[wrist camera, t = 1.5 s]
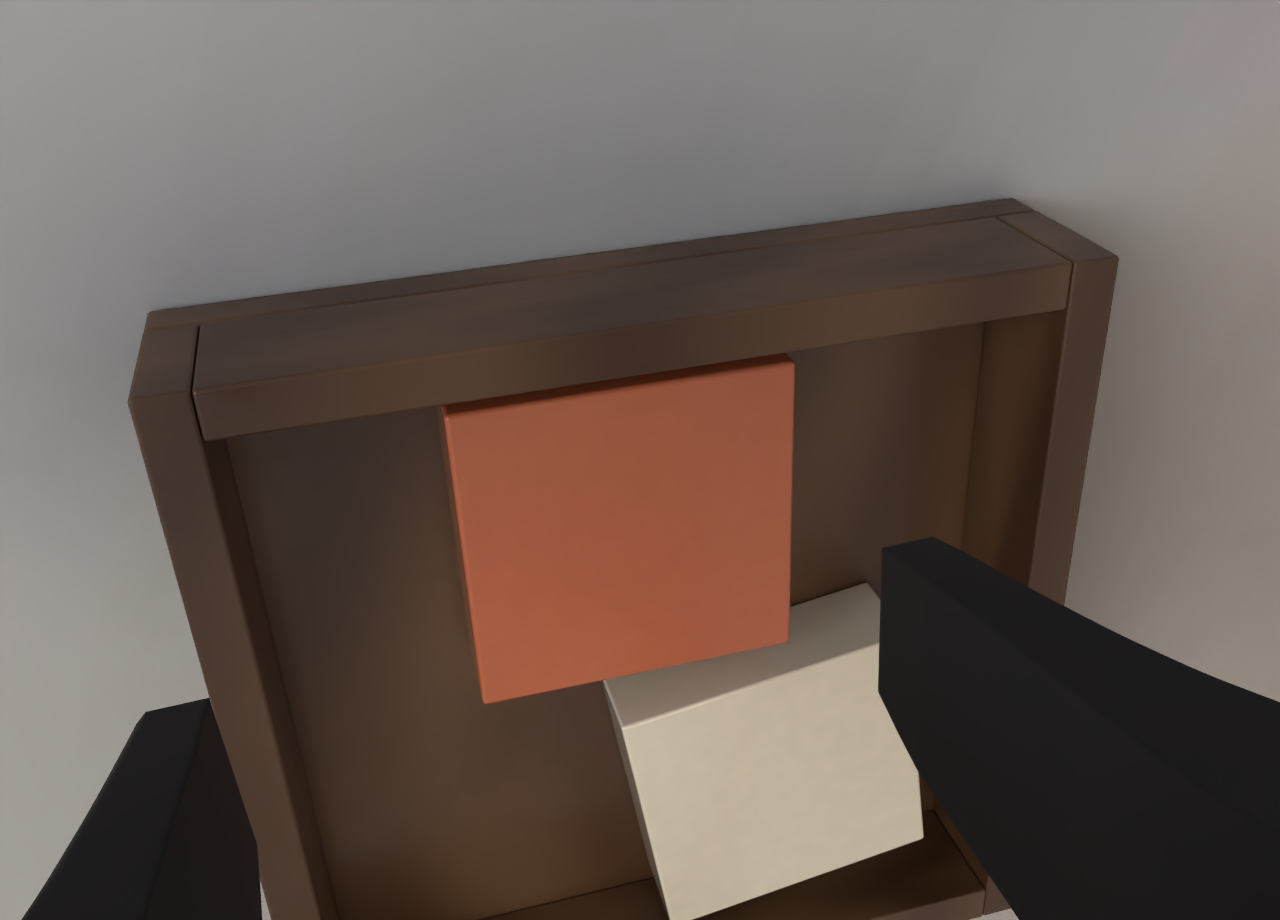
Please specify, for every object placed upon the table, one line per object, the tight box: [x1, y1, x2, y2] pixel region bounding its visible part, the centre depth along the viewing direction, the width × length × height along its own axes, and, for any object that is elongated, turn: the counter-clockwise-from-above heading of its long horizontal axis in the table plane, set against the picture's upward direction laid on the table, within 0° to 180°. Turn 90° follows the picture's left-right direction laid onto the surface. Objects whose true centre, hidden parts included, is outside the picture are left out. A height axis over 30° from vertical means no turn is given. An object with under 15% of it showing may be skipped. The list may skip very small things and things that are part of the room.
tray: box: [128, 198, 1119, 920], centre depth 22 cm, size 15×15×3 cm
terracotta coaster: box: [435, 353, 795, 704], centre depth 21 cm, size 6×6×2 cm
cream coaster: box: [602, 583, 924, 920], centre depth 24 cm, size 6×6×2 cm
